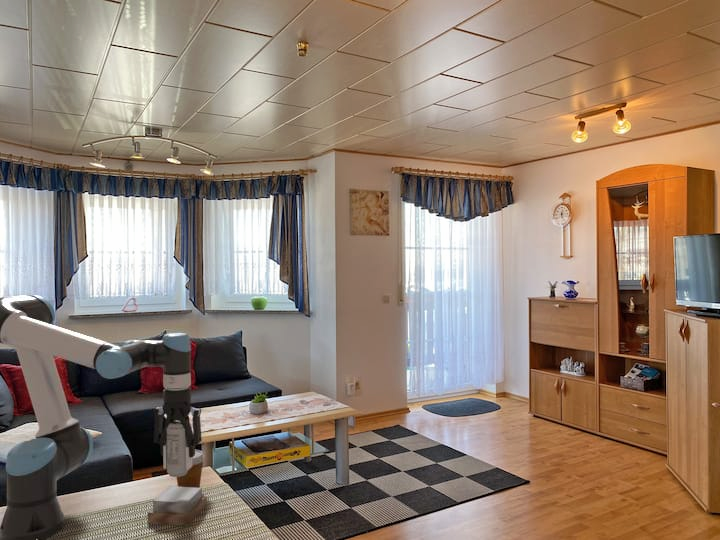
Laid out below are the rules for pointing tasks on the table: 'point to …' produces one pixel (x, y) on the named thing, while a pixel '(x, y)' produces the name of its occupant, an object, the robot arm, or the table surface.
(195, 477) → the disposable coffee cup
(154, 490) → the table surface
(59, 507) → the robot arm
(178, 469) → the energy drink can
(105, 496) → the table surface
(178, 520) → the plinth
